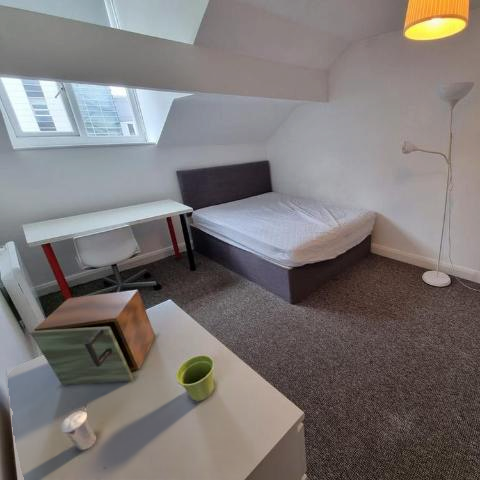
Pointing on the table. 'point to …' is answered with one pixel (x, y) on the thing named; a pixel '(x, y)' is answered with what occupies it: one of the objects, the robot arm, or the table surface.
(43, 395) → the table surface
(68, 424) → the milkshake
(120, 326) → the cupboard
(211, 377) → the plant pot
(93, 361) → the cupboard door
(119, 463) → the table surface
